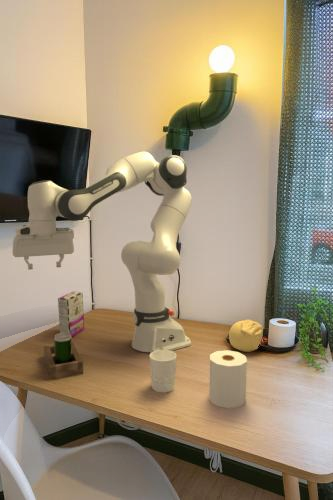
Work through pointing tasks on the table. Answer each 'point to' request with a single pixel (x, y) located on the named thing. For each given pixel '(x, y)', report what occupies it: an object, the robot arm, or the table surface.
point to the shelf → (63, 368)
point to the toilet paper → (228, 378)
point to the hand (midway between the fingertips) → (44, 268)
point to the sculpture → (246, 335)
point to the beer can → (63, 348)
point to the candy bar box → (71, 313)
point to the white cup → (163, 370)
